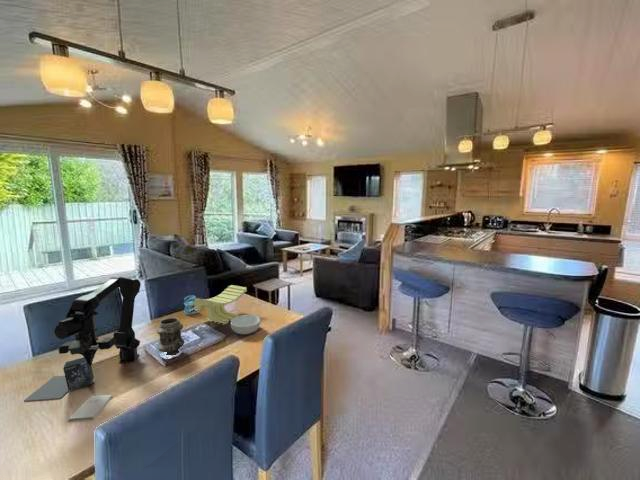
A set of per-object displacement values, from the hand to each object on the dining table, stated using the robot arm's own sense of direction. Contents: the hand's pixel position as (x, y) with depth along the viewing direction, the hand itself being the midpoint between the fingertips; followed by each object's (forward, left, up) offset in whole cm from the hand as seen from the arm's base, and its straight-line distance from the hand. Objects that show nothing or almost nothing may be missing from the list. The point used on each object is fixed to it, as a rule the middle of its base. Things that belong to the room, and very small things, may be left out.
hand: (90, 365), depth 126 cm
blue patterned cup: (-18, -78, -10) cm, 81 cm away
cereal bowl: (-58, -45, -10) cm, 74 cm away
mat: (+14, -1, -10) cm, 17 cm away
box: (+5, -1, -9) cm, 10 cm away
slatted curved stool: (-41, -66, -10) cm, 78 cm away
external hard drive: (-8, +14, -10) cm, 19 cm away
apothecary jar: (-24, -23, -10) cm, 34 cm away
